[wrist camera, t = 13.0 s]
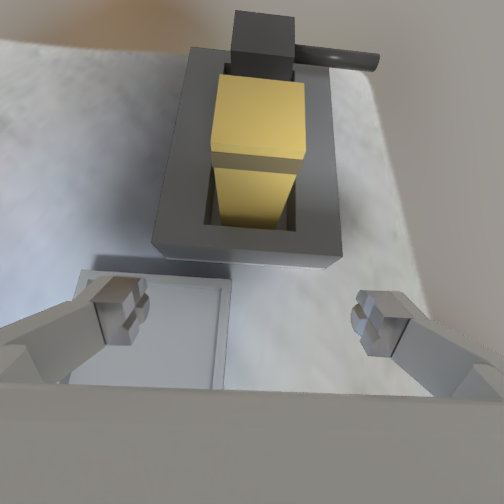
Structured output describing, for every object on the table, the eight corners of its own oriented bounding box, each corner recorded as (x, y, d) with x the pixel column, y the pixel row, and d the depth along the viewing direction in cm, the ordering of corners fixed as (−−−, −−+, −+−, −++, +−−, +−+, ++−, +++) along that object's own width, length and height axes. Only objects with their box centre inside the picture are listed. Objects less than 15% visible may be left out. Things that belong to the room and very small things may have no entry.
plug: (221, 230, 18) (209, 143, 10) (225, 185, 19) (218, 73, 11) (273, 234, 18) (307, 152, 10) (275, 189, 20) (305, 82, 11)
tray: (47, 440, 14) (27, 452, 12) (93, 274, 17) (81, 269, 16) (218, 446, 14) (216, 457, 13) (231, 283, 17) (231, 279, 16)
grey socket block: (166, 259, 18) (120, 211, 11) (197, 86, 23) (180, -20, 16) (348, 271, 18) (419, 235, 11) (334, 101, 24) (376, 5, 17)
